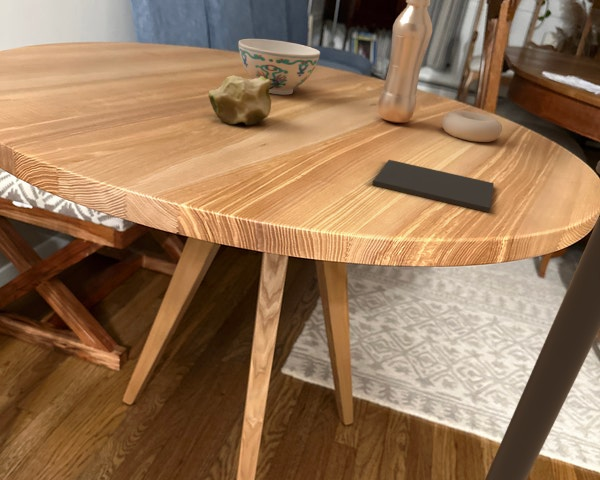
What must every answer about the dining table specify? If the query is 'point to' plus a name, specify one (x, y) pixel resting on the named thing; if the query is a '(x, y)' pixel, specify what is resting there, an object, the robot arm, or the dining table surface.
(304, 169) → the dining table surface
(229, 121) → the fruit
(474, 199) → the mat
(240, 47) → the chinaware
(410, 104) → the plastic bottle
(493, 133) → the donut
